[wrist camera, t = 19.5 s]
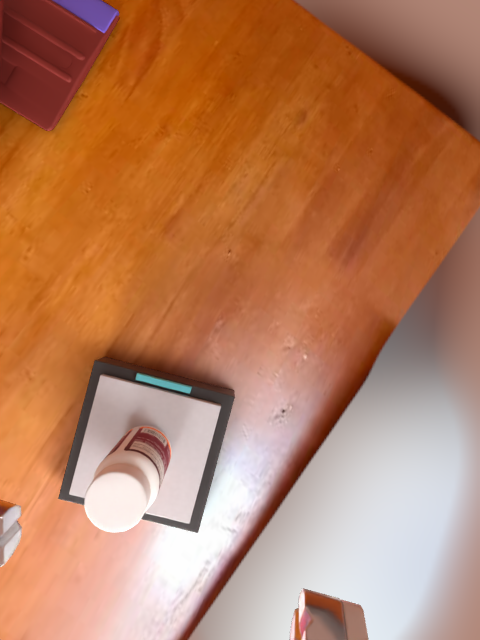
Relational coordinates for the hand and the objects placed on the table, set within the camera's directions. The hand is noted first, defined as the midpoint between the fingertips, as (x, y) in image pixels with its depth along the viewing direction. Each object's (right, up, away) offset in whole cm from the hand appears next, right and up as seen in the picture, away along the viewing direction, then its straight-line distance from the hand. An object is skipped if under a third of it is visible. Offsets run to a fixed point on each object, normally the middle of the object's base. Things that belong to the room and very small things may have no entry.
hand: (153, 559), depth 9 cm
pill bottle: (-6, -5, +21) cm, 23 cm away
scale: (-6, -5, +24) cm, 25 cm away
